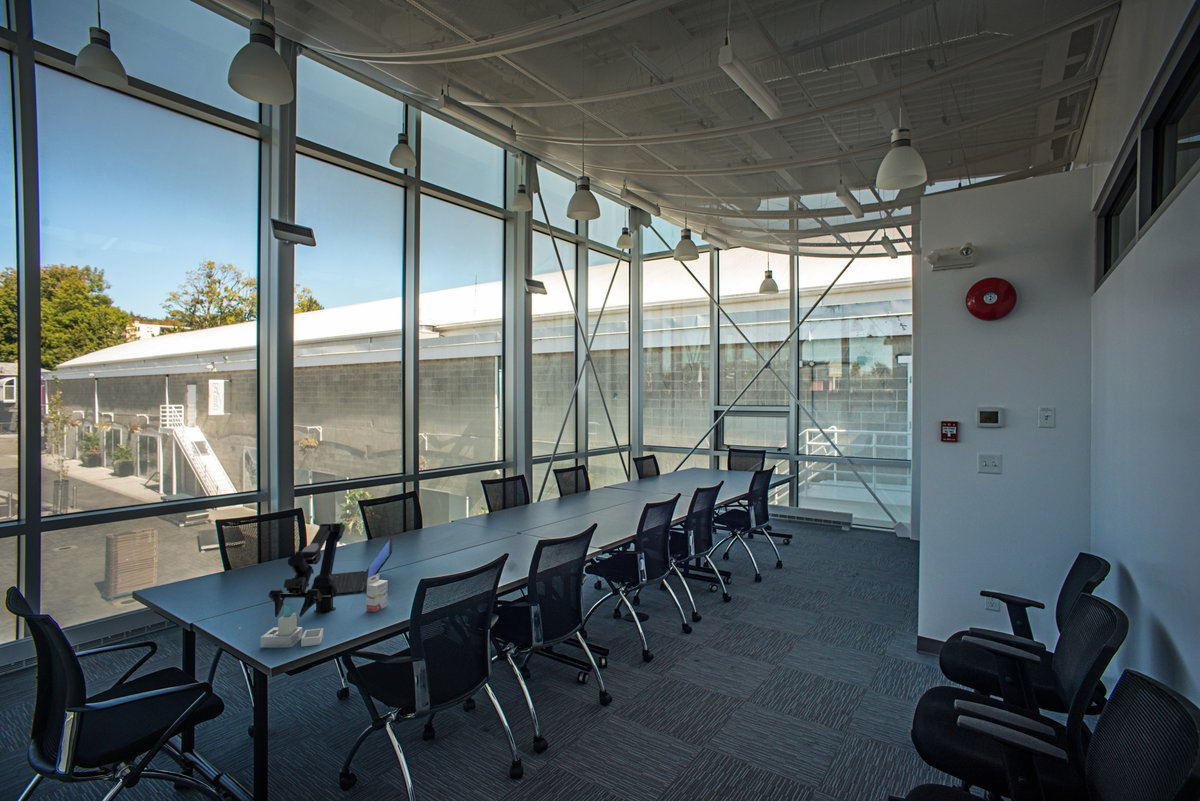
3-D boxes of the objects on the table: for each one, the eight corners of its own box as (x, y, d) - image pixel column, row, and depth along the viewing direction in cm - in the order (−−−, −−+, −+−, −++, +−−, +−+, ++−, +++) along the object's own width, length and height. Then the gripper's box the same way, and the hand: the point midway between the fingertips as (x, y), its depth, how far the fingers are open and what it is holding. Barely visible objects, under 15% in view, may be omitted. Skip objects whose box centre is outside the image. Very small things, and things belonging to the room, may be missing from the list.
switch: (302, 637, 225) (302, 626, 225) (290, 647, 215) (290, 636, 215) (273, 637, 224) (273, 627, 224) (260, 647, 215) (260, 636, 215)
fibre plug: (296, 638, 223) (296, 602, 223) (288, 645, 217) (288, 608, 217) (286, 638, 223) (286, 602, 223) (278, 645, 217) (278, 608, 217)
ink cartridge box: (375, 612, 251) (375, 579, 251) (366, 611, 252) (366, 578, 252) (388, 605, 259) (388, 573, 259) (378, 604, 260) (378, 572, 260)
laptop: (316, 578, 299) (316, 541, 299) (392, 571, 311) (392, 536, 311) (306, 599, 268) (307, 558, 267) (392, 591, 280) (392, 551, 280)
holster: (323, 635, 226) (323, 628, 226) (320, 644, 218) (320, 636, 218) (305, 637, 224) (305, 630, 224) (301, 646, 216) (301, 638, 216)
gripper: (270, 569, 225) (255, 607, 214) (318, 569, 226) (305, 607, 215) (280, 582, 233) (266, 620, 222) (327, 582, 234) (315, 619, 223)
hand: (288, 616), depth 220 cm, fingers open, 9 cm apart
